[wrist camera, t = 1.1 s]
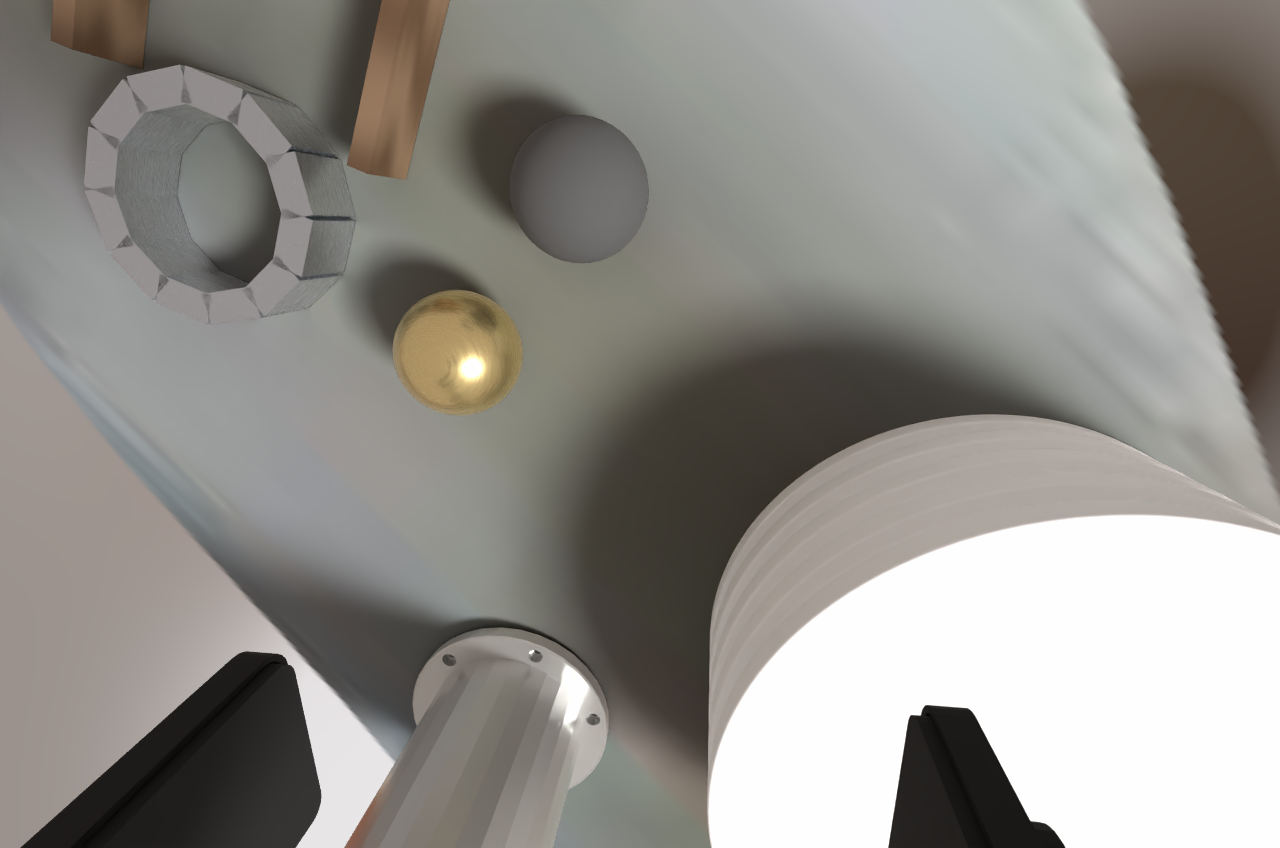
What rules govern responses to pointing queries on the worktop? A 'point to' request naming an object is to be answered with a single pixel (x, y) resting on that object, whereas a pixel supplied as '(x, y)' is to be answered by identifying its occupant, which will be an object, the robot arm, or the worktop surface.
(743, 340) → the worktop surface
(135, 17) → the walnut housing
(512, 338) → the brass ball
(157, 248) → the steel race
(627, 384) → the worktop surface
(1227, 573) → the plate stack
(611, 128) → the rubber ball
